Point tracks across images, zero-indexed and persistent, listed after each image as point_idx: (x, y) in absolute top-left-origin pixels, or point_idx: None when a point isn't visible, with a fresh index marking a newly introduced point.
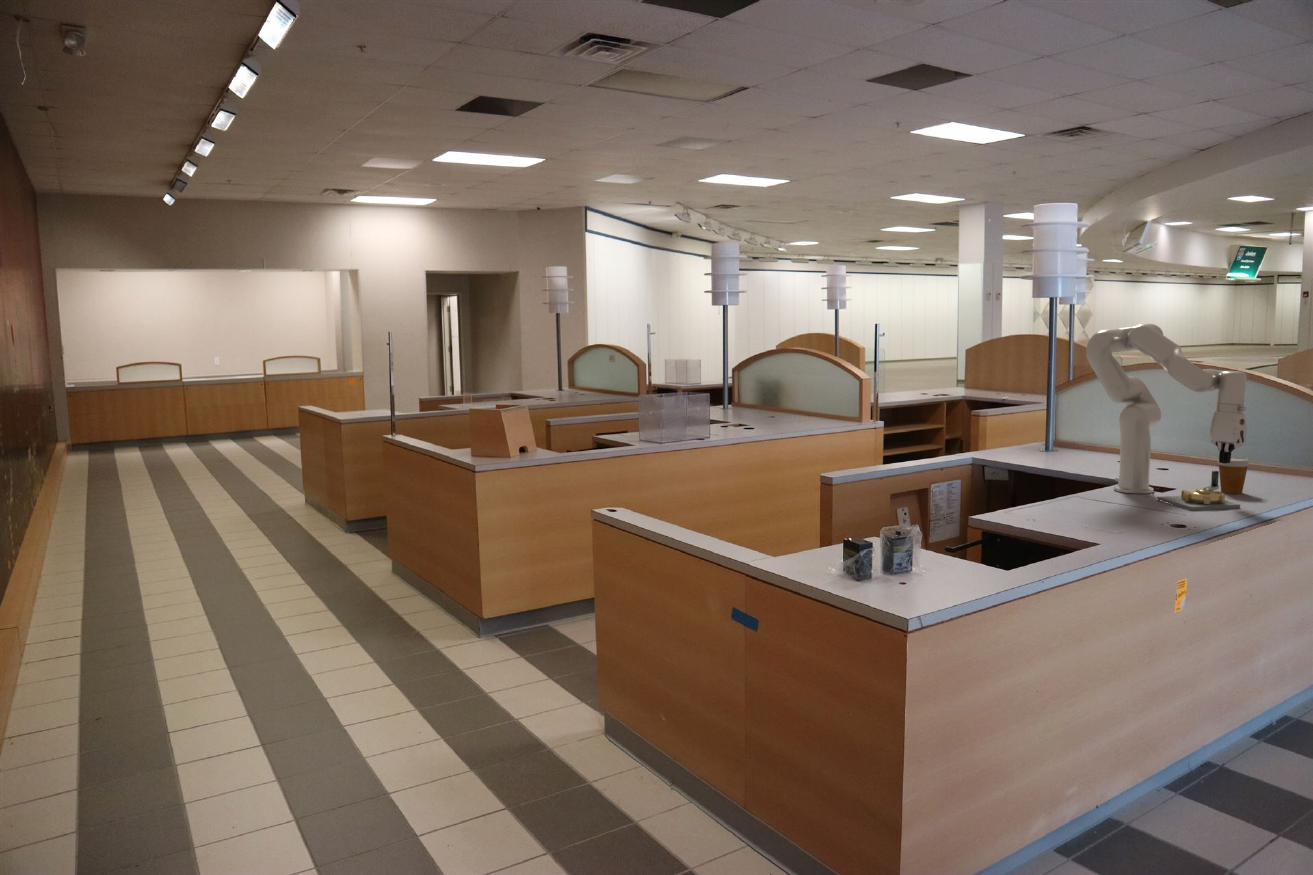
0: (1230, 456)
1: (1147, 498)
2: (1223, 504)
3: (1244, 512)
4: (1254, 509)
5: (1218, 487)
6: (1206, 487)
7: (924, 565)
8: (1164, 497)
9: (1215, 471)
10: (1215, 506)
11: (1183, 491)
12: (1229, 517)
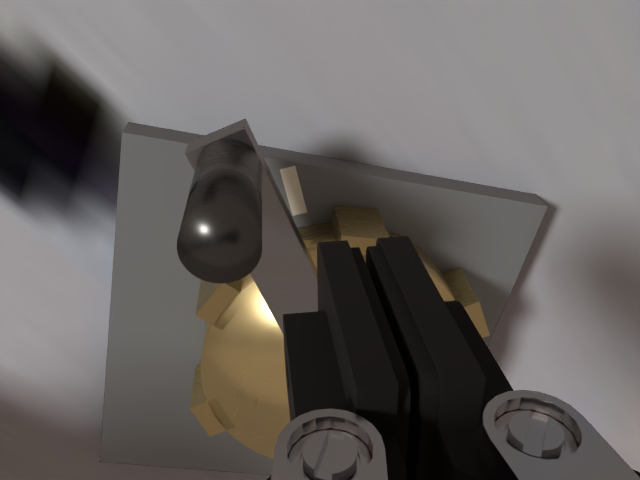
0: (482, 352)
1: (31, 449)
2: (478, 298)
3: (620, 271)
4: (615, 137)
5: (250, 132)
6: (272, 298)
7: None
8: (134, 440)
9: (242, 265)
10: None
11: (221, 428)
12: (630, 425)
